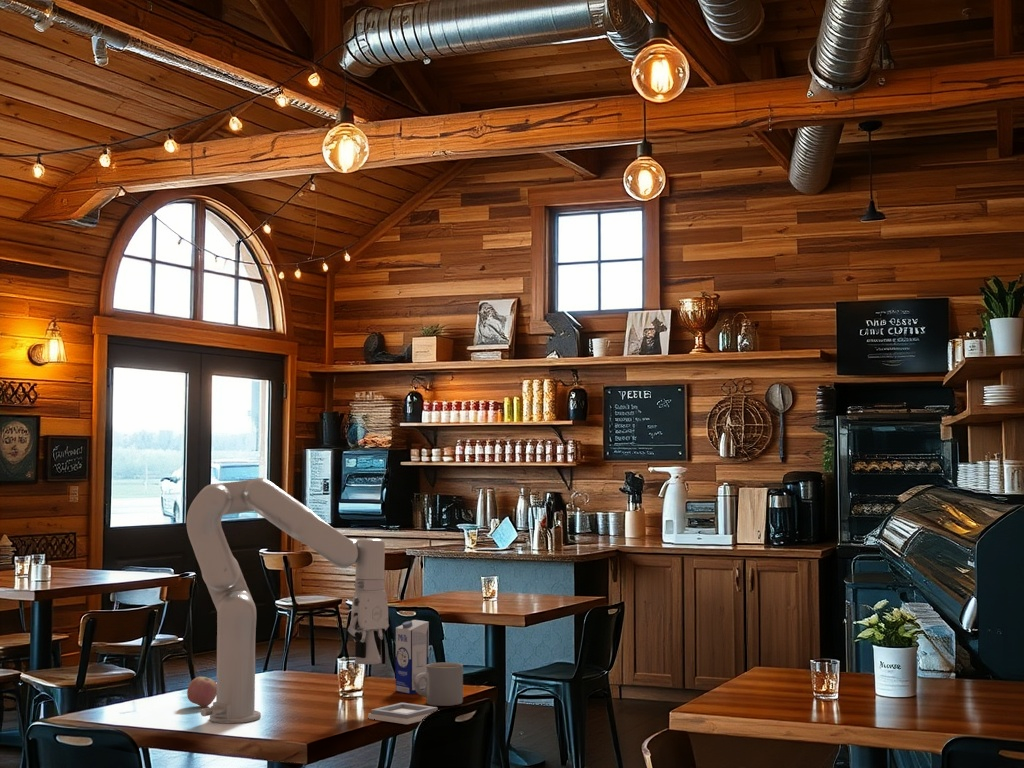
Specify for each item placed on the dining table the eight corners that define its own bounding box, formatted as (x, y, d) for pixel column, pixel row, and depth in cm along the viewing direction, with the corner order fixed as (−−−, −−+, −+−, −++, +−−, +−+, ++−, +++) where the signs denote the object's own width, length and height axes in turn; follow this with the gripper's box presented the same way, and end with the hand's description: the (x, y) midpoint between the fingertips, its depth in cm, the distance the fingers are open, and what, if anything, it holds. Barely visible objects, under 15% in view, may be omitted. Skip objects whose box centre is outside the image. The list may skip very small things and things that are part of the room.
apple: (200, 711, 315) (201, 680, 316) (180, 708, 319) (181, 677, 320) (223, 706, 322) (223, 675, 322) (203, 703, 326) (203, 673, 326)
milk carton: (429, 691, 342) (429, 620, 344) (410, 694, 338) (410, 622, 339) (413, 688, 348) (413, 618, 349) (395, 691, 343) (395, 620, 345)
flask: (384, 661, 316) (385, 623, 317) (378, 665, 309) (379, 626, 310) (357, 660, 317) (358, 622, 318) (351, 664, 310) (352, 625, 311)
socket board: (407, 724, 296) (407, 715, 296) (368, 718, 304) (368, 709, 304) (440, 716, 307) (440, 707, 307) (401, 710, 314) (401, 702, 314)
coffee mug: (460, 698, 331) (460, 661, 332) (464, 705, 322) (464, 667, 323) (412, 700, 329) (412, 663, 330) (415, 706, 320) (415, 668, 320)
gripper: (357, 588, 306) (356, 661, 304) (401, 584, 319) (400, 654, 318) (336, 587, 310) (334, 658, 308) (380, 583, 324) (379, 651, 322)
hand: (368, 655), depth 313 cm, fingers closed on flask, 5 cm apart
